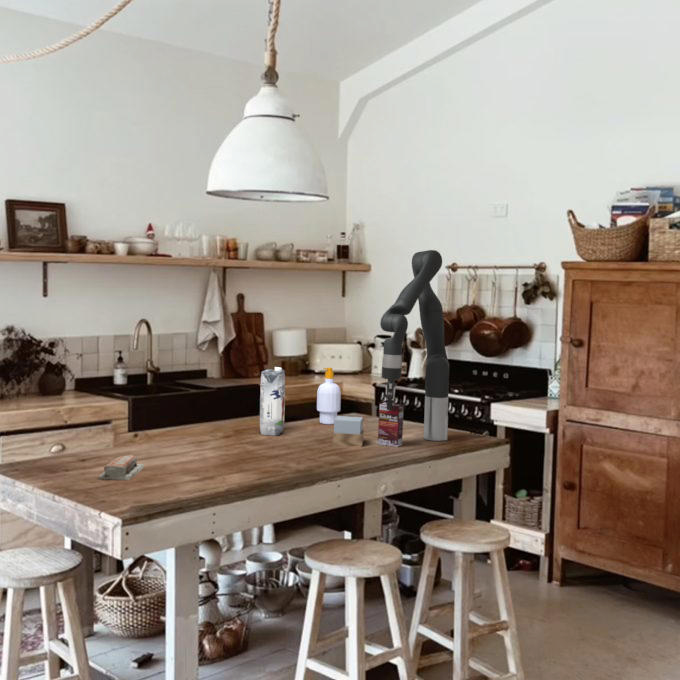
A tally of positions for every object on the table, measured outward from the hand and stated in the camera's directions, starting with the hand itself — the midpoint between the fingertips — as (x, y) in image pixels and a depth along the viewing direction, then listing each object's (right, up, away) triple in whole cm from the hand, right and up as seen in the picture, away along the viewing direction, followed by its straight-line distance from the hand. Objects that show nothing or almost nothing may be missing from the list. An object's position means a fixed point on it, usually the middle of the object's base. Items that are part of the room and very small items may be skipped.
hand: (389, 408), depth 336 cm
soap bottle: (-24, -10, +46) cm, 53 cm away
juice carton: (-47, -12, +18) cm, 51 cm away
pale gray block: (-16, -9, +1) cm, 18 cm away
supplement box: (0, -14, +1) cm, 14 cm away
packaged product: (-88, -17, -57) cm, 107 cm away
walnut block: (-16, -14, +2) cm, 21 cm away
